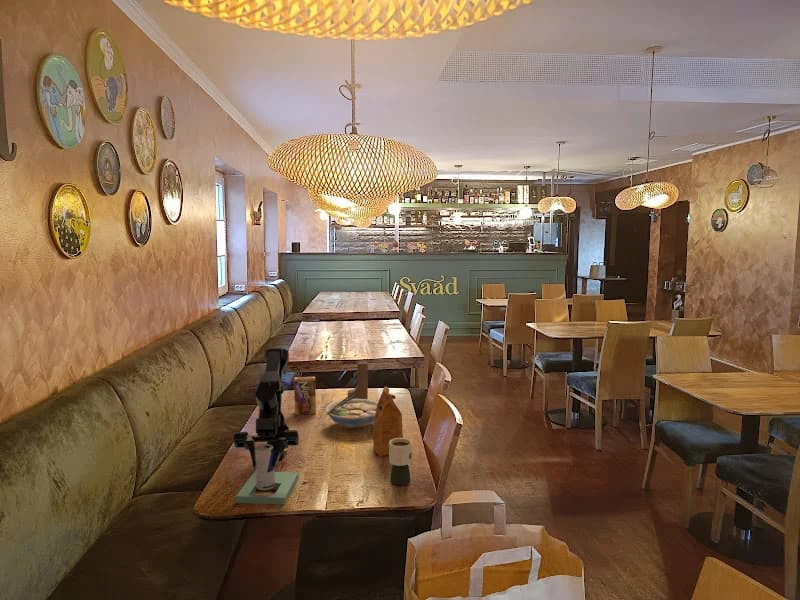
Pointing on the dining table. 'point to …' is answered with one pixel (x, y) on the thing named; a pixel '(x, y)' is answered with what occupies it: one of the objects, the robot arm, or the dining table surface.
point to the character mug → (400, 460)
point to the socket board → (282, 483)
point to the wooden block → (361, 382)
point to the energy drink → (265, 467)
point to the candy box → (305, 395)
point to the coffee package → (386, 423)
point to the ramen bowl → (352, 412)
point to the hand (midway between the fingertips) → (264, 466)
